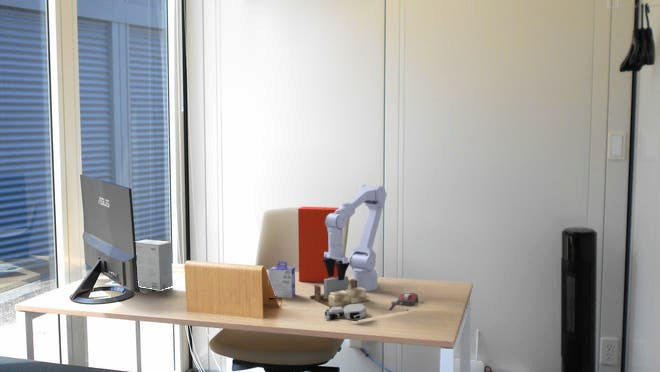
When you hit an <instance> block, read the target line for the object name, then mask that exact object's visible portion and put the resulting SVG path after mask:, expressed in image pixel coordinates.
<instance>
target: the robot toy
mask: <svg viewBox="0 0 660 372" xmlns="http://www.w3.org/2000/svg"><path fill="white" fill-rule="evenodd" d="M365 303H366V302H362V303H357V304H349V305H346V306H341V307H328V308H326V309H325V312H324V319H325V320H330V321H331V320H335V319H341V318H345V319H347V320H353V322H358V321H359V320H361V319H363V318H365V316H366V315H367V307H366V306H365Z"/></svg>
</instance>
